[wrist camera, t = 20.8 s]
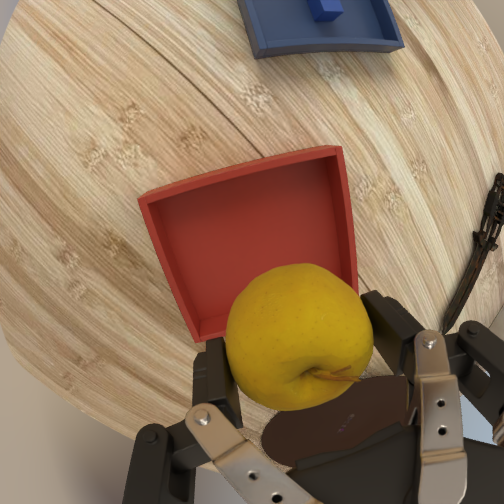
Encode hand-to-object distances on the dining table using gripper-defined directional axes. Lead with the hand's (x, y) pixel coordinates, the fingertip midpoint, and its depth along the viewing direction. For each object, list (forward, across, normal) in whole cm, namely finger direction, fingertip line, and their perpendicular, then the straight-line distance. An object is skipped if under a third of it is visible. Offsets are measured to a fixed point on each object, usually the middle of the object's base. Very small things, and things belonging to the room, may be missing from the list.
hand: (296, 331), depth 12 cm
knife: (+13, -29, +11) cm, 34 cm away
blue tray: (+13, -10, -23) cm, 28 cm away
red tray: (+13, 0, 0) cm, 13 cm away
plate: (+13, -7, +35) cm, 38 cm away
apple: (+4, 0, 0) cm, 4 cm away
